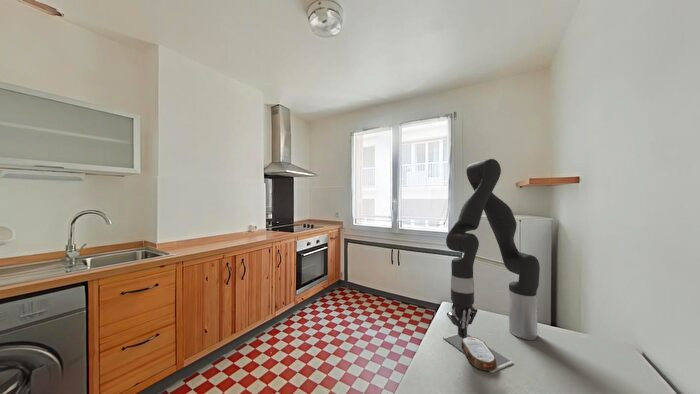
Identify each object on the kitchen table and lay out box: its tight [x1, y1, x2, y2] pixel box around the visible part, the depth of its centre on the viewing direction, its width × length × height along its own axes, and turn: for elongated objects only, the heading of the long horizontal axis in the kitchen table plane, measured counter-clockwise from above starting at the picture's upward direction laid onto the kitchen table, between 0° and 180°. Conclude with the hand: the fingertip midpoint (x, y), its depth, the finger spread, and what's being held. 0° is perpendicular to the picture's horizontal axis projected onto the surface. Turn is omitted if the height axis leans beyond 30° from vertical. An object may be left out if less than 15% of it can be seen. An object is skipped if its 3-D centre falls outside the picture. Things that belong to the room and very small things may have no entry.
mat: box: [443, 332, 514, 374], centre depth 86 cm, size 11×20×1 cm, turn 23°
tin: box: [461, 336, 496, 372], centre depth 82 cm, size 15×3×8 cm
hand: (462, 336), depth 83 cm, fingers closed
